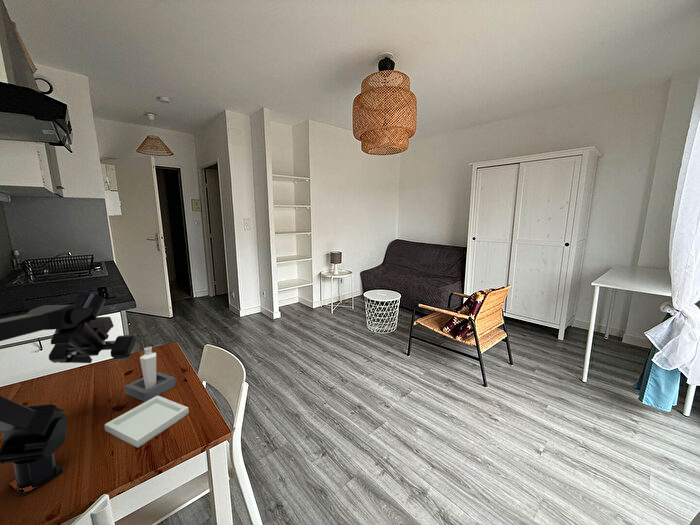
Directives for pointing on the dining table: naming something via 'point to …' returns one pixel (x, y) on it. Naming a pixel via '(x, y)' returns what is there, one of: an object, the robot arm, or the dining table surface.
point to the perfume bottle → (149, 367)
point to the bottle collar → (144, 395)
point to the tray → (146, 420)
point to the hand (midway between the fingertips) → (108, 360)
